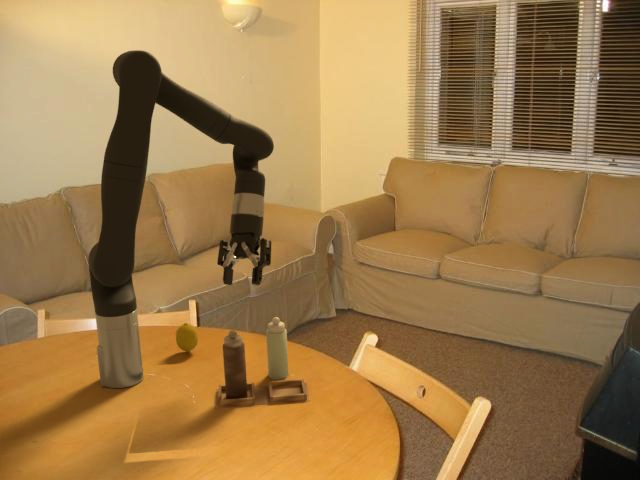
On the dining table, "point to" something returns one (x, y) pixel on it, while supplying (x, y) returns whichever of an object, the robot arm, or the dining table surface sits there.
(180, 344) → the lemon
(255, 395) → the cruet stand
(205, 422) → the dining table surface
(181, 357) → the dining table surface
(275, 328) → the salt mill
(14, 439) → the dining table surface
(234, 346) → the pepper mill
